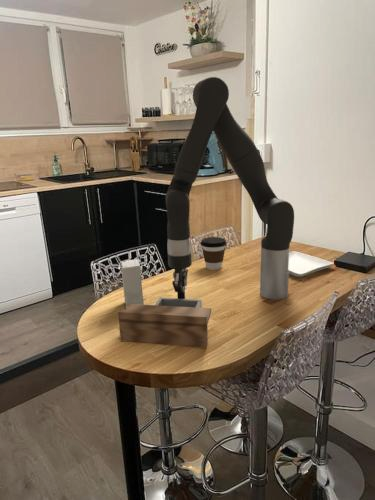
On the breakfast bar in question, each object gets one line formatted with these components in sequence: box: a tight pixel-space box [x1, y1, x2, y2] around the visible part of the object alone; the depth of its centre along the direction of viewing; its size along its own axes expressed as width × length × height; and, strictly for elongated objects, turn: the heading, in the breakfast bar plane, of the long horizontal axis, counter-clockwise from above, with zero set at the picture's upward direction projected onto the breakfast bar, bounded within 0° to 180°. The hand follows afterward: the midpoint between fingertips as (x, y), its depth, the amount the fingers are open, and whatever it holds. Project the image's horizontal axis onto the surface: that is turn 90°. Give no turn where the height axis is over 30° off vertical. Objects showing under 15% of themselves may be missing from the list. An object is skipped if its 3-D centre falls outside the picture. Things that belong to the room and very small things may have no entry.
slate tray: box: [154, 297, 203, 308], centre depth 117 cm, size 14×18×3 cm
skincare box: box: [120, 259, 145, 309], centre depth 126 cm, size 8×6×15 cm
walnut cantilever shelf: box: [117, 304, 212, 349], centre depth 106 cm, size 24×10×9 cm, turn 79°
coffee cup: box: [199, 236, 228, 271], centre depth 160 cm, size 11×11×12 cm
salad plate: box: [288, 250, 335, 278], centre depth 158 cm, size 21×21×3 cm
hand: (181, 301), depth 127 cm, fingers closed
